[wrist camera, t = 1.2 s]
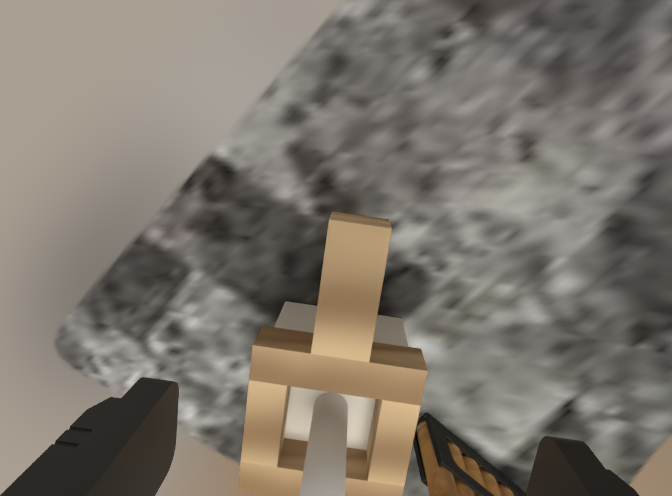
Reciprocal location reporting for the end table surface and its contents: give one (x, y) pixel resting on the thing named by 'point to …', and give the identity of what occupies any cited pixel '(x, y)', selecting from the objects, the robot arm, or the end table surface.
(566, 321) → the end table surface
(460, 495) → the ammunition clip
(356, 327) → the oak link
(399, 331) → the ring stand
